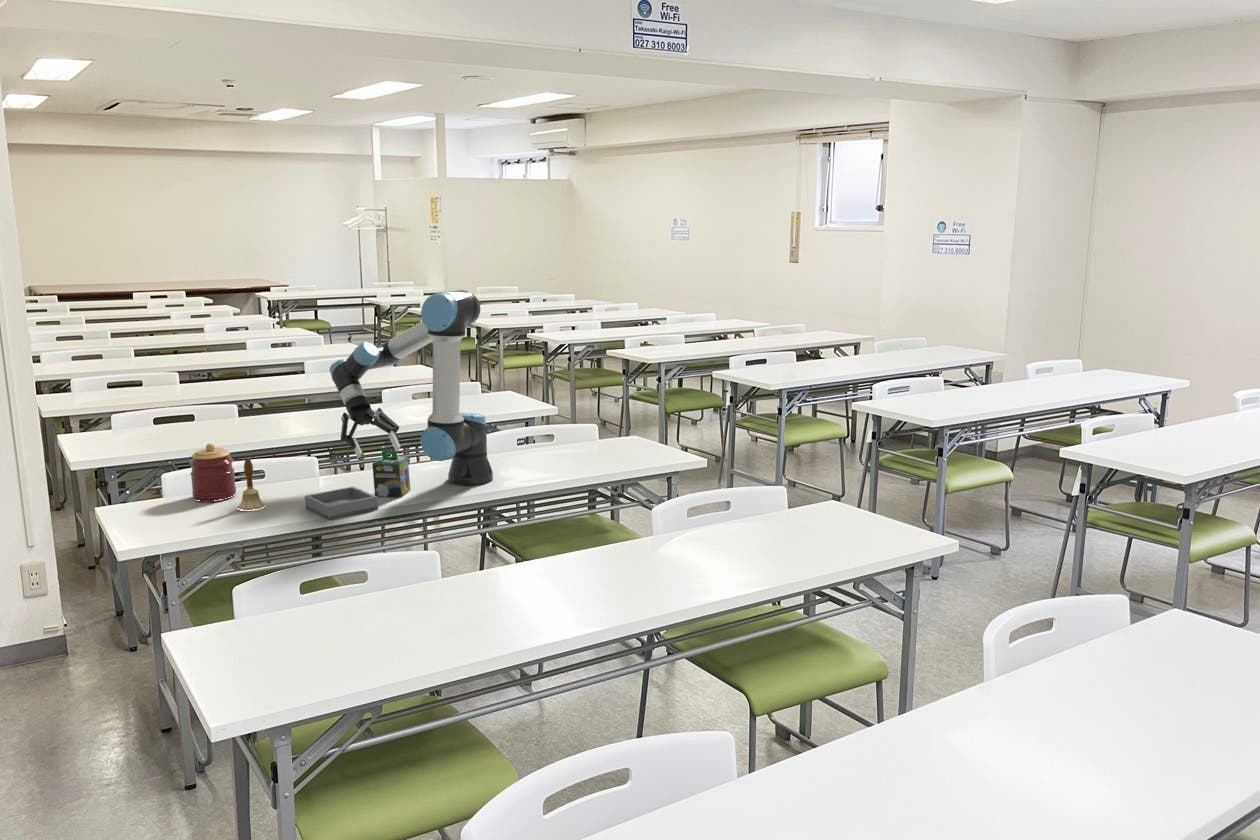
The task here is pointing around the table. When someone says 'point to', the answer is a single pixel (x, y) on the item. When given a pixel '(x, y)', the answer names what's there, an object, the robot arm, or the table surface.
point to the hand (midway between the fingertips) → (379, 452)
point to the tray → (341, 502)
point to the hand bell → (250, 490)
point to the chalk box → (391, 475)
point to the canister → (212, 474)
